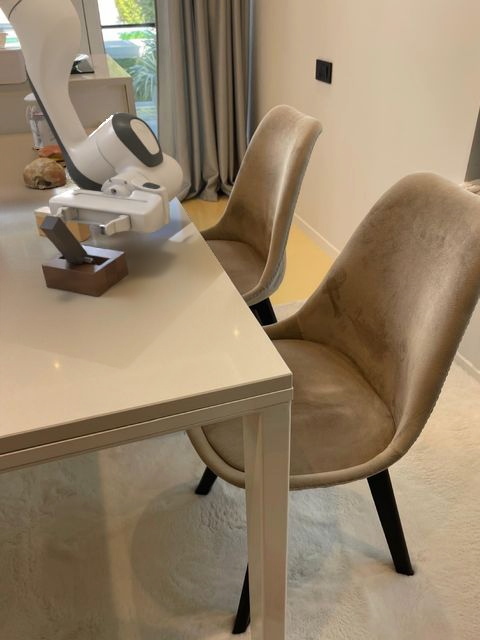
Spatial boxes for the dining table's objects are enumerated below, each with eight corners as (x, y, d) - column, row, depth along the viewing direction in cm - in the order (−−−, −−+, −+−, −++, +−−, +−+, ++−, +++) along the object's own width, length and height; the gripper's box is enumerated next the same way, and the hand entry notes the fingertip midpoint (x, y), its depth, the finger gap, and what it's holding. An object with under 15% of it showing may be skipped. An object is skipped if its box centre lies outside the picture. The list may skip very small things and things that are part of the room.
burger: (68, 157, 160) (64, 140, 158) (82, 164, 154) (79, 146, 152) (34, 163, 155) (30, 146, 152) (48, 171, 149) (44, 153, 146)
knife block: (46, 287, 92) (41, 264, 90) (80, 265, 99) (75, 244, 97) (97, 296, 89) (93, 274, 87) (128, 273, 96) (125, 252, 94)
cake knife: (77, 279, 95) (31, 226, 83) (83, 267, 96) (39, 213, 84) (102, 283, 94) (59, 230, 81) (107, 272, 95) (66, 217, 82)
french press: (71, 143, 174) (54, 52, 160) (51, 152, 165) (31, 57, 151) (43, 141, 176) (23, 52, 162) (22, 151, 167) (-1, 56, 153)
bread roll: (29, 204, 137) (23, 178, 131) (22, 176, 142) (16, 149, 135) (71, 198, 141) (67, 173, 134) (62, 171, 145) (58, 145, 139)
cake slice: (39, 235, 111) (33, 210, 108) (49, 230, 113) (44, 206, 111) (81, 242, 108) (76, 217, 105) (90, 236, 110) (86, 212, 108)
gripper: (74, 176, 101) (22, 200, 91) (174, 188, 95) (130, 215, 84) (81, 210, 105) (31, 236, 94) (178, 223, 99) (136, 253, 88)
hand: (79, 226), depth 89 cm, fingers open, 8 cm apart
